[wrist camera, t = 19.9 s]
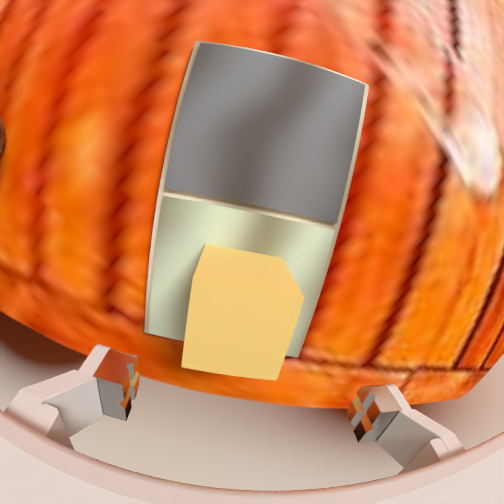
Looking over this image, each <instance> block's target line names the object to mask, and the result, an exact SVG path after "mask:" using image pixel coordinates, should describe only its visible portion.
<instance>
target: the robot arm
mask: <svg viewBox="0 0 504 504" xmlns="http://www.w3.org/2000/svg"><path fill="white" fill-rule="evenodd" d="M138 366H139V357H138V356H136V355H132V354H129V353H126V352H123V351H120V350H116V349H113V348H110V347H107V346H104V345H101V344H98V345H96V346H95V347H94V349H93V350H92V351H91V353H90V354H89V356H88V357H87V359H86V360H85V361H84V363H83V365H82V366H81V367H80V369H79V370H78V371H77V370H72V371H69V372H67V373H64V374H61V375H59V376H56V377H53V378H50V379H48V380H45V381H42V382H39V383H36V384H34V385H31V386H28V387H25V388H22V389H21V390H20V391H19V392H18V394H17V395H16V397H15V398H14V399H13V400H12V402H11V403H10V404H9V406H8V407H7V408H6V410H5V411H4V412H3V411H1V410H0V504H504V432H502V433H500V434H499V435H497V436H495V437H493V438H491V439H489V440H487V441H485V442H483V443H481V444H479V445H477V446H475V447H473V448H471V449H469V450H465V449H464V447H463V446H462V444H461V443H460V441H459V440H458V438H457V437H456V435H455V434H454V432H452V431H450V430H448V429H447V428H445V427H443V426H442V425H440V424H438V423H437V422H435V421H433V420H431V419H430V418H428V417H427V416H425V415H423V414H422V413H420V412H418V411H417V410H415V409H411V407H410V406H409V404H408V403H407V401H406V400H405V398H404V397H403V395H402V394H401V392H400V390H399V389H398V387H397V386H396V385H394V384H390V385H369V386H362V387H361V388H359V390H358V392H357V396H358V397H357V398H355V399H354V400H353V401H352V402H351V404H350V406H349V408H348V419H349V421H350V423H351V424H352V425H354V426H355V428H354V430H353V431H354V434H355V436H356V439H357V441H358V443H363V442H374V441H376V443H377V444H378V445H379V446H380V447H382V448H383V449H384V450H385V451H386V452H387V453H388V454H389V455H391V456H392V457H393V458H394V459H395V460H396V461H397V462H398V463H399V464H400V465H402V466H403V467H404V469H403V470H402V471H401V472H400V473H399V474H398V475H395V476H391V477H387V478H382V479H378V480H373V481H368V482H364V483H357V484H352V485H345V486H338V487H331V488H321V489H309V490H292V491H251V490H234V489H221V488H213V487H204V486H198V485H191V484H185V483H180V482H175V481H169V480H165V479H160V478H156V477H152V476H148V475H144V474H140V473H137V472H133V471H130V470H126V469H123V468H119V467H117V466H114V465H111V464H108V463H105V462H102V461H99V460H97V459H94V458H91V457H89V456H86V455H84V454H81V453H79V452H77V451H75V450H74V448H73V446H72V444H71V441H70V439H69V437H70V436H72V435H74V434H75V433H77V432H78V431H80V430H82V429H83V428H85V427H86V426H88V425H89V424H91V423H92V422H94V421H95V420H97V419H98V418H100V417H102V416H103V414H104V415H108V416H111V417H114V418H118V419H121V420H125V421H126V420H127V418H128V415H129V413H130V410H131V400H133V399H135V397H136V394H137V390H138V386H139V373H138V372H137V369H138Z"/></svg>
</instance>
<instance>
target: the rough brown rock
mask: <svg viewBox="0 0 504 504" xmlns="http://www.w3.org/2000/svg"><path fill="white" fill-rule="evenodd" d="M3 145H4V124H3V121H2V118H1V116H0V153H1V152H2V150H3Z"/></svg>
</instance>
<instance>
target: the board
mask: <svg viewBox="0 0 504 504" xmlns="http://www.w3.org/2000/svg"><path fill="white" fill-rule="evenodd" d="M368 88H369V85H368V84H366V83H363V82H361V81H358V80H356V79H353V78H351V77H348V76H345V75H343V74H340V73H337V72H334V71H332V70H329V69H326V68H323V67H320V66H317V65H313V64H310V63H307V62H303V61H300V60H297V59H293V58H289V57H285V56H281V55H277V54H273V53H269V52H264V51H260V50H255V49H250V48H244V47H239V46H233V45H226V44H219V43H212V42H203V41H196V43H195V46H194V49H193V52H192V55H191V58H190V61H189V64H188V68H187V71H186V74H185V78H184V81H183V84H182V88H181V92H180V95H179V99H178V103H177V107H176V111H175V115H174V119H173V123H172V127H171V131H170V136H169V140H168V145H167V149H166V154H165V159H164V164H163V169H162V175H161V180H160V186H159V192H158V198H157V204H156V211H155V217H154V225H153V232H152V240H151V249H150V258H149V268H148V279H147V292H146V308H145V329H144V333H148V334H152V335H157V336H161V337H166V338H171V339H176V340H181V341H184V339H185V331H186V323H187V315H188V308H189V301H190V294H191V287H192V280H193V276H194V273H195V271H196V268H197V265H198V262H199V259H200V257H201V254H202V251H203V248H204V246H205V243H206V244H211V245H216V246H222V247H227V248H232V249H237V250H243V251H248V252H253V253H258V254H264V255H269V256H274V257H279V258H282V259H283V260H284V262H285V264H286V266H287V267H288V269H289V271H290V273H291V274H292V276H293V278H294V280H295V282H296V283H297V285H298V287H299V289H300V290H301V292H302V294H303V296H304V301H303V304H302V307H301V311H300V314H299V317H298V320H297V323H296V326H295V329H294V332H293V335H292V338H291V341H290V344H289V347H288V350H287V353H286V356H290V357H298V356H299V353H300V350H301V348H302V345H303V342H304V339H305V337H306V334H307V331H308V328H309V325H310V322H311V319H312V317H313V314H314V311H315V308H316V305H317V302H318V299H319V295H320V292H321V289H322V286H323V283H324V280H325V276H326V273H327V270H328V266H329V263H330V260H331V256H332V253H333V249H334V246H335V242H336V239H337V235H338V231H339V227H340V224H341V220H342V216H343V212H344V208H345V204H346V200H347V196H348V192H349V188H350V183H351V179H352V174H353V170H354V165H355V161H356V156H357V151H358V146H359V141H360V136H361V130H362V125H363V119H364V114H365V108H366V101H367V95H368Z"/></svg>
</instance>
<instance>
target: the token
mask: <svg viewBox="0 0 504 504" xmlns="http://www.w3.org/2000/svg"><path fill="white" fill-rule="evenodd" d="M303 301H304V296H303V294H302V292H301V290H300V289H299V287H298V285H297V283H296V282H295V280H294V278H293V276H292V274H291V273H290V271H289V269H288V267H287V266H286V264H285V262H284V260H283V259H282V258H279V257H274V256H269V255H264V254H258V253H253V252H248V251H243V250H237V249H232V248H227V247H222V246H216V245H211V244H206V243H205V246H204V248H203V251H202V254H201V257H200V259H199V262H198V265H197V268H196V271H195V273H194V276H193V280H192V287H191V294H190V301H189V308H188V315H187V323H186V331H185V339H184V348H183V357H182V366H181V367H183V368H188V369H194V370H200V371H205V372H212V373H218V374H225V375H232V376H240V377H248V378H257V379H267V380H277V378H278V375H279V372H280V370H281V367H282V364H283V361H284V358H285V356H286V353H287V350H288V347H289V344H290V341H291V338H292V335H293V332H294V329H295V326H296V323H297V320H298V317H299V314H300V311H301V307H302V304H303Z"/></svg>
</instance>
